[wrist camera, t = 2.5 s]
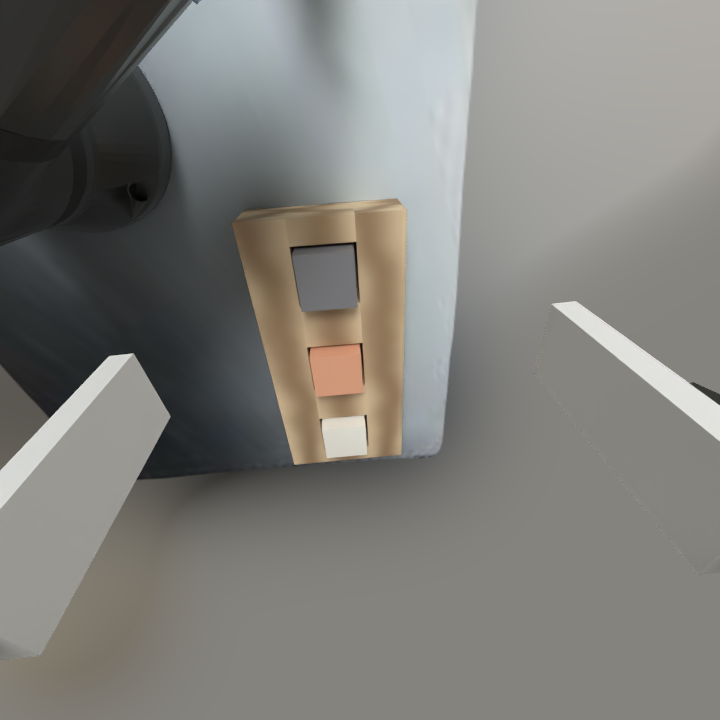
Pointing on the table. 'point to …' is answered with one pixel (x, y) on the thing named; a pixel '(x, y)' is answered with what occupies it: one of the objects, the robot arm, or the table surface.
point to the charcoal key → (325, 276)
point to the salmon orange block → (336, 369)
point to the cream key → (344, 436)
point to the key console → (331, 317)
